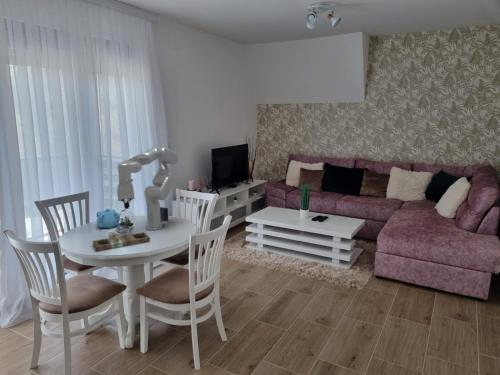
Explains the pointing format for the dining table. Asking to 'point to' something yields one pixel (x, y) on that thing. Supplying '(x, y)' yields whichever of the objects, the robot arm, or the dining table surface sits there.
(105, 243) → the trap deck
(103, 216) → the decorative pot
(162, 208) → the small box
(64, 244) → the dining table surface
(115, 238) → the birch block
